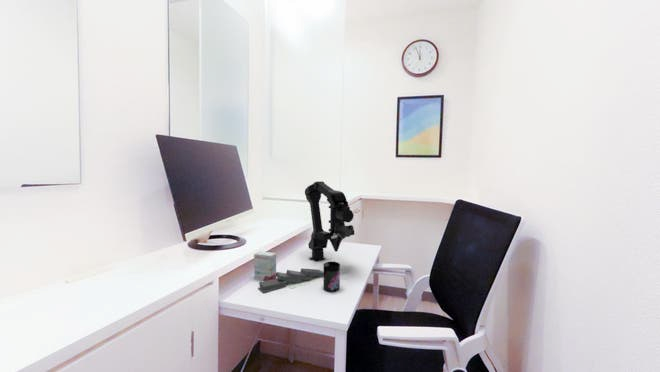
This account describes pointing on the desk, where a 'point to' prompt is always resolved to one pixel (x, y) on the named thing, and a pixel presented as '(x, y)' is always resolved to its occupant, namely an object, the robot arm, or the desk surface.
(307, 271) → the domino
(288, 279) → the domino
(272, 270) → the ink box
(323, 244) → the robot arm
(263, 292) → the domino
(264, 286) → the domino
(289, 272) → the domino
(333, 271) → the supplement container
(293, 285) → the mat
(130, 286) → the desk surface
